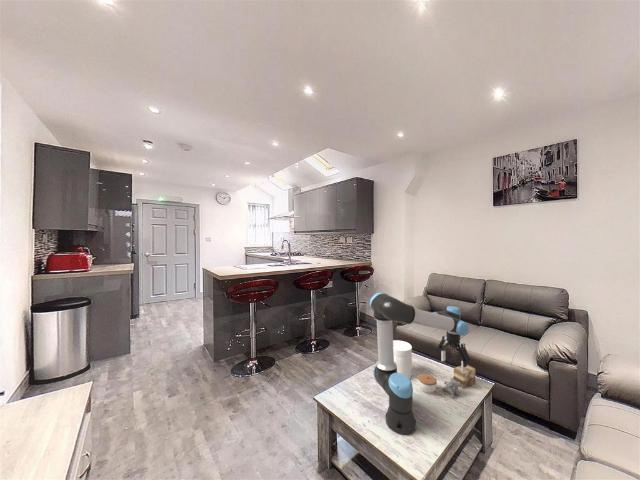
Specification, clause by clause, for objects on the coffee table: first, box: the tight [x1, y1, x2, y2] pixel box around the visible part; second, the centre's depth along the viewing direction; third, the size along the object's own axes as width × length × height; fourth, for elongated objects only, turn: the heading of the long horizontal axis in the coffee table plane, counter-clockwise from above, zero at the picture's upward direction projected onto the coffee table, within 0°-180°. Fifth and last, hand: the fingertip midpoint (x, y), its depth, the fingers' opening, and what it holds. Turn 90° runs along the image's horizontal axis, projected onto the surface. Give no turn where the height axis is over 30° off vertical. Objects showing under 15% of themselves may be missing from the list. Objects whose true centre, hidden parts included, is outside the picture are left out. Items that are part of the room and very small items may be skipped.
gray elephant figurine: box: [442, 377, 462, 399], centre depth 154 cm, size 9×12×8 cm
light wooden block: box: [453, 364, 477, 381], centre depth 163 cm, size 12×7×5 cm, turn 116°
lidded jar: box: [417, 373, 438, 395], centre depth 156 cm, size 11×11×9 cm
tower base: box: [452, 375, 477, 389], centre depth 163 cm, size 12×7×5 cm, turn 116°
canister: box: [393, 339, 413, 380], centre depth 174 cm, size 16×16×20 cm
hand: (453, 365), depth 154 cm, fingers open, 13 cm apart
